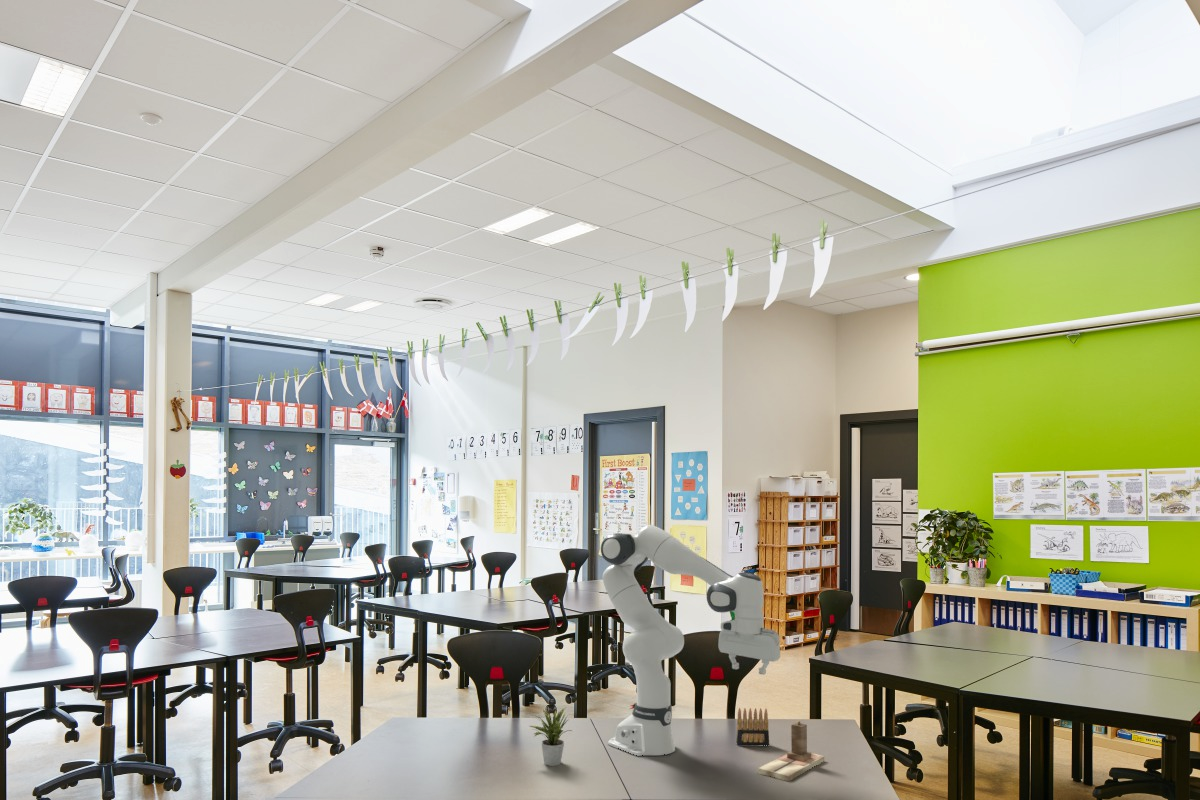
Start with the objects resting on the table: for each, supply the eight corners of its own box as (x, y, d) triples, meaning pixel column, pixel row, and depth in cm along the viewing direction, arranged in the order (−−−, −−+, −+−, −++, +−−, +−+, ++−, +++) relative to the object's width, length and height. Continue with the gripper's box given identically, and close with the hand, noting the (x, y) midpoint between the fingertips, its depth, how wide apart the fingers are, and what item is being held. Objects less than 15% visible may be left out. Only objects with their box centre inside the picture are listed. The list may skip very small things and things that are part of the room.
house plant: (541, 751, 270) (542, 699, 272) (581, 757, 266) (582, 704, 267) (522, 765, 257) (523, 710, 258) (564, 771, 252) (565, 715, 254)
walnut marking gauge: (787, 757, 263) (786, 721, 264) (795, 753, 267) (795, 717, 268) (803, 761, 259) (803, 724, 260) (811, 757, 263) (811, 721, 264)
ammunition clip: (768, 744, 281) (768, 707, 282) (769, 746, 279) (769, 709, 280) (736, 744, 281) (736, 707, 282) (737, 745, 279) (737, 708, 281)
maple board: (758, 773, 253) (758, 767, 253) (795, 754, 271) (795, 748, 272) (788, 781, 247) (788, 775, 247) (824, 761, 265) (824, 755, 265)
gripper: (784, 629, 258) (783, 675, 257) (726, 620, 271) (726, 664, 270) (774, 632, 254) (774, 679, 253) (716, 623, 267) (715, 667, 266)
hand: (748, 671), depth 262 cm, fingers open, 8 cm apart
